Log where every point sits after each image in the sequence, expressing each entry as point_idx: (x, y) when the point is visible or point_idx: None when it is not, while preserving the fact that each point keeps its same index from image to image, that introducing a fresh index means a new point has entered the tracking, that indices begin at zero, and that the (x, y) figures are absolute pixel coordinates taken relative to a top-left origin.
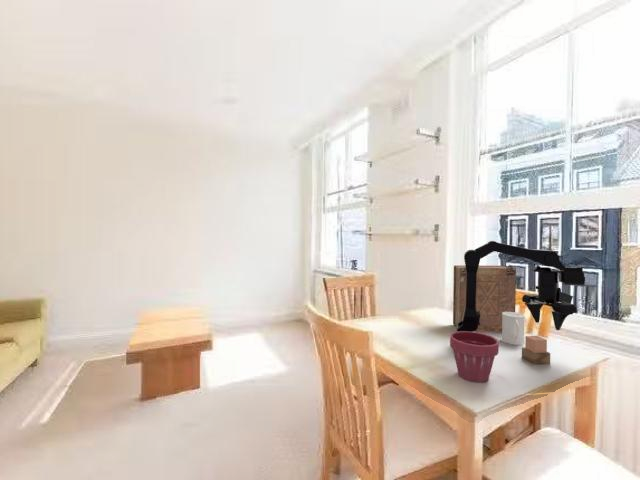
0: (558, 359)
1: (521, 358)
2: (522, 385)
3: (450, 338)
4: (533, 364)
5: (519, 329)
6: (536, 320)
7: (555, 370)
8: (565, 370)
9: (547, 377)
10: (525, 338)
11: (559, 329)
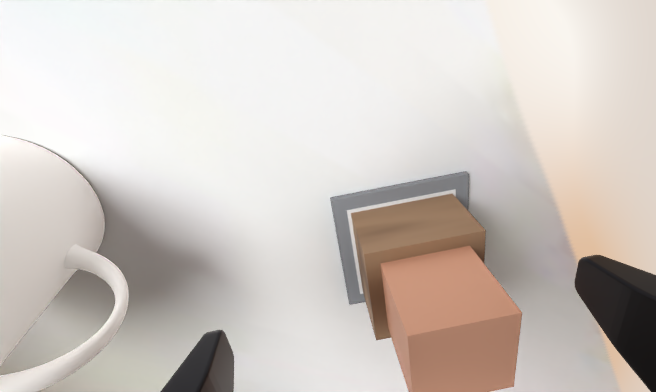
0: (356, 74)
1: (361, 291)
2: (585, 368)
3: None
4: None
5: (15, 281)
6: (230, 390)
7: (505, 195)
8: (516, 143)
9: (559, 268)
10: (408, 389)
11: (606, 262)
